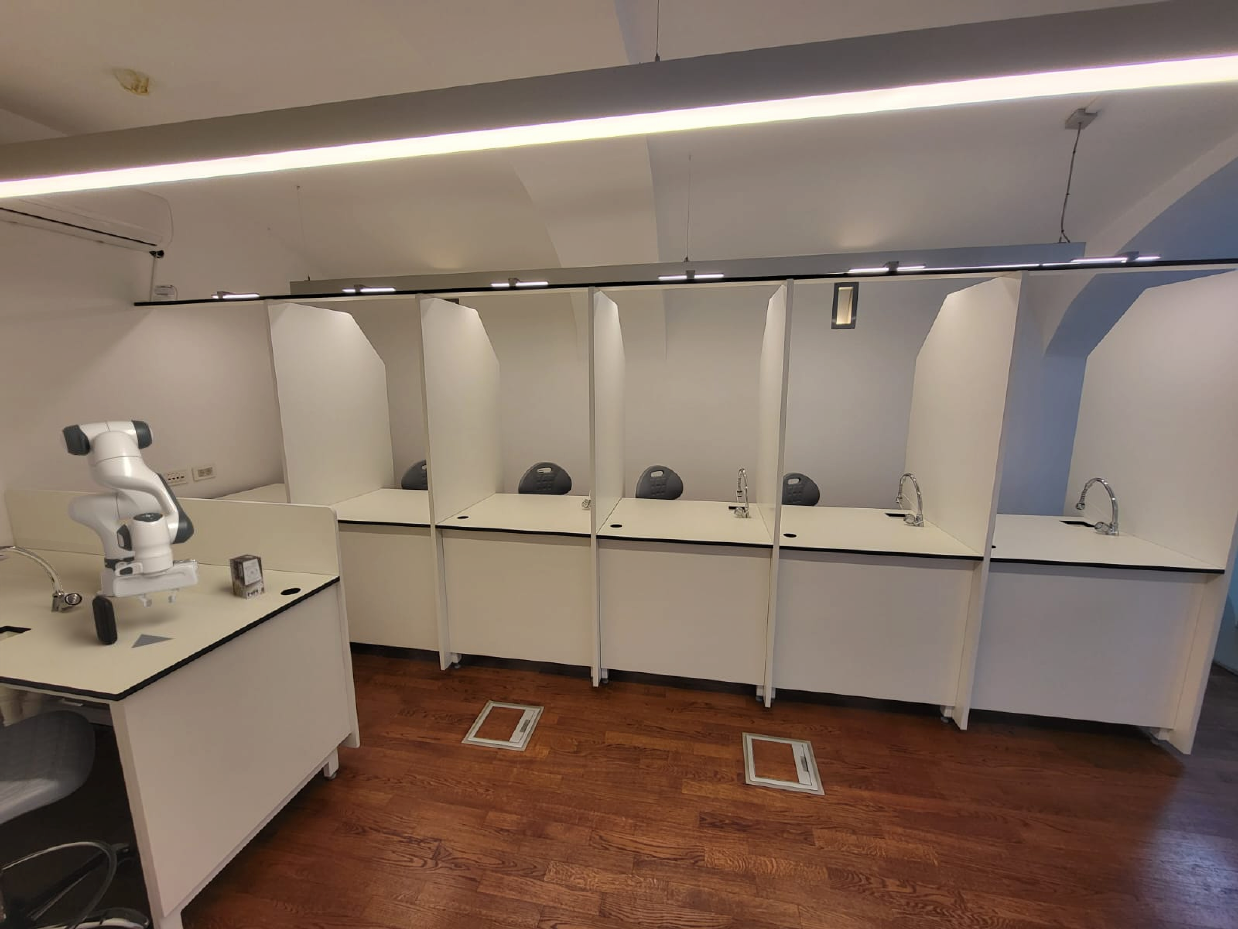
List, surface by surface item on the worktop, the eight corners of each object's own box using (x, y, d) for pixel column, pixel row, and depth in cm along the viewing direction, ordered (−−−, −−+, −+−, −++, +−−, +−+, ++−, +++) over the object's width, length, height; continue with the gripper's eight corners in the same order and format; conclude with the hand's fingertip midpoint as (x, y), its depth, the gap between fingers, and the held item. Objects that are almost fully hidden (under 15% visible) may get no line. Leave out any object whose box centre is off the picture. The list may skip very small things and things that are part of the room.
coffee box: (266, 597, 181) (261, 557, 179) (247, 604, 176) (242, 562, 173) (252, 593, 185) (247, 553, 183) (233, 599, 179) (228, 558, 177)
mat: (153, 620, 162) (153, 618, 162) (234, 605, 174) (234, 604, 174) (132, 649, 144) (131, 647, 144) (224, 630, 156) (224, 628, 155)
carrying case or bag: (95, 639, 150) (88, 595, 148) (108, 635, 152) (102, 592, 150) (106, 648, 144) (99, 602, 142) (120, 644, 147) (113, 599, 145)
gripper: (199, 555, 161) (204, 593, 163) (114, 566, 150) (120, 607, 152) (195, 560, 155) (200, 600, 157) (107, 572, 145) (113, 615, 147)
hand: (160, 603), depth 155 cm, fingers open, 4 cm apart
